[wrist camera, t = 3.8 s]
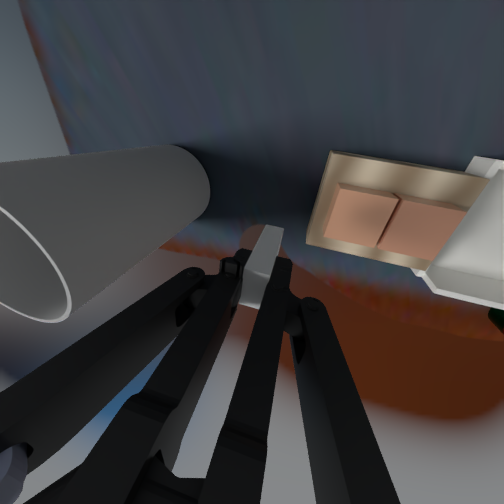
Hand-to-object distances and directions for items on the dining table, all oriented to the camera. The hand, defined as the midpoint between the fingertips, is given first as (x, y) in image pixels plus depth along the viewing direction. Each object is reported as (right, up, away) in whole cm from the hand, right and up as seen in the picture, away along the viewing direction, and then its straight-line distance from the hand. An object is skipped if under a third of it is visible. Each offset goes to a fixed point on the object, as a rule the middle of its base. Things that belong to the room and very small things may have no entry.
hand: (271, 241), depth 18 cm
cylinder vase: (-14, +11, +19) cm, 26 cm away
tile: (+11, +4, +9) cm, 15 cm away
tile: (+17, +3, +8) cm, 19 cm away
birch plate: (+16, +6, +13) cm, 21 cm away
